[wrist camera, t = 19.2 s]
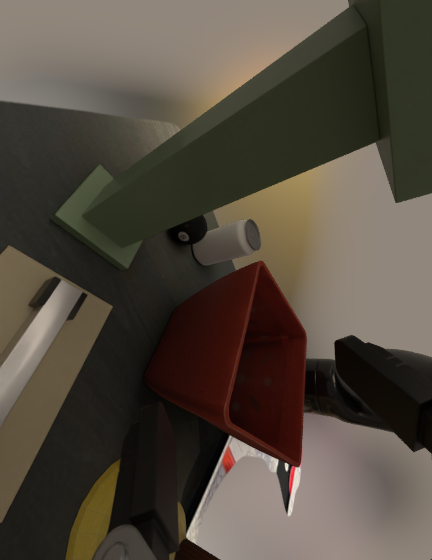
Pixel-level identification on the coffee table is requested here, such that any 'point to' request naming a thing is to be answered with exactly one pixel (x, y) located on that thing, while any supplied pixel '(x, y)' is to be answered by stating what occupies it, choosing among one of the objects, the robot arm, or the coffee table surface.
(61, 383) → the mat
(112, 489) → the handbell
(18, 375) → the grey metal bar
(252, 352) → the flower pot
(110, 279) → the coffee table surface
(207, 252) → the can
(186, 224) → the billiard ball
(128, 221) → the stand
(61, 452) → the coffee table surface
